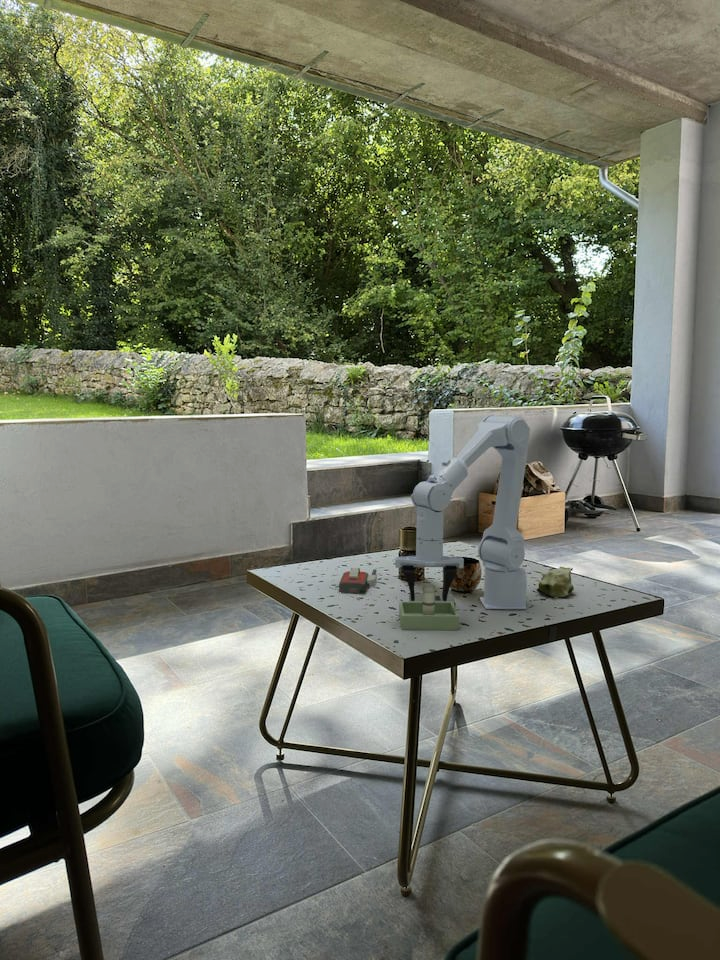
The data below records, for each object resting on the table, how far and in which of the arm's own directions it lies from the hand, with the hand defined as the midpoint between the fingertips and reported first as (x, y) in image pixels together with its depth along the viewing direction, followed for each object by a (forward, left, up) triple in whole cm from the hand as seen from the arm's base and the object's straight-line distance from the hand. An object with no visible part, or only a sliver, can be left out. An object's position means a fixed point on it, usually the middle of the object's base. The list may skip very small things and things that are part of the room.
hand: (428, 599), depth 156 cm
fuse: (0, 0, -4) cm, 4 cm away
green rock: (-34, -21, -5) cm, 40 cm away
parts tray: (0, 0, -5) cm, 5 cm away
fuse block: (-2, -11, -5) cm, 12 cm away
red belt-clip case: (+15, -30, -6) cm, 34 cm away
